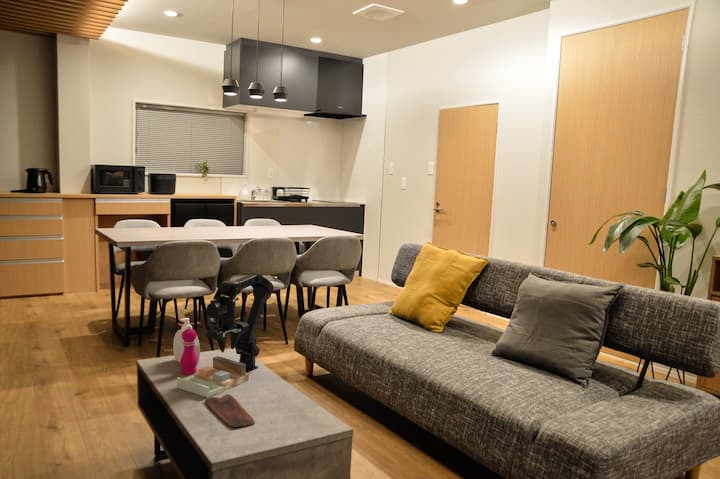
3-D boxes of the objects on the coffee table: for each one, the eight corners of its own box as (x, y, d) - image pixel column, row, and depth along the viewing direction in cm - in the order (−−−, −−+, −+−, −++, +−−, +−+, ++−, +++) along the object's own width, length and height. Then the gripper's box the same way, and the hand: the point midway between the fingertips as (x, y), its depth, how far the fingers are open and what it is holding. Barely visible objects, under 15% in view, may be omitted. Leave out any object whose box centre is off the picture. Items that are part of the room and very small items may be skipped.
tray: (193, 381, 219) (193, 371, 218) (223, 391, 210) (223, 381, 209) (176, 387, 212) (177, 377, 211) (207, 398, 203) (207, 387, 203)
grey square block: (221, 376, 217) (221, 370, 217) (229, 378, 215) (229, 372, 215) (212, 379, 214) (212, 373, 213) (221, 382, 211) (221, 376, 211)
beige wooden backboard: (220, 372, 230) (220, 365, 230) (248, 381, 222) (248, 373, 222) (194, 381, 218) (194, 374, 218) (222, 391, 210) (222, 383, 210)
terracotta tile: (207, 372, 222) (207, 366, 221) (215, 374, 219) (215, 368, 219) (198, 375, 218) (198, 369, 218) (206, 377, 215) (206, 371, 215)
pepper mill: (200, 370, 232) (201, 324, 230) (193, 376, 225) (194, 328, 223) (184, 368, 233) (184, 322, 231) (176, 374, 225) (177, 327, 223)
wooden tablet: (257, 419, 183) (228, 422, 178) (256, 426, 183) (228, 429, 178) (230, 392, 205) (203, 394, 200) (229, 398, 205) (203, 400, 200)
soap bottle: (172, 359, 244) (172, 315, 242) (183, 357, 247) (183, 314, 245) (188, 369, 232) (189, 323, 230) (200, 366, 236) (200, 321, 234)
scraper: (217, 366, 228) (217, 355, 228) (245, 375, 220) (245, 364, 220) (212, 368, 226) (212, 357, 226) (241, 376, 218) (241, 365, 217)
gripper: (230, 305, 232) (229, 341, 234) (196, 313, 216) (195, 352, 218) (250, 310, 226) (249, 346, 228) (216, 318, 210) (215, 358, 212)
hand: (227, 350), depth 221 cm, fingers open, 5 cm apart
